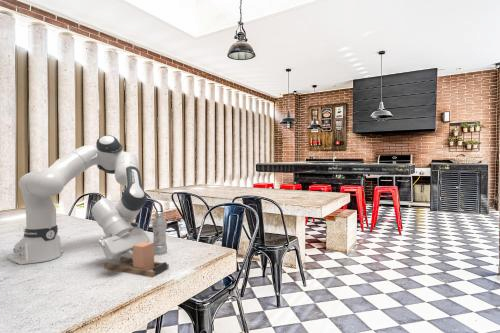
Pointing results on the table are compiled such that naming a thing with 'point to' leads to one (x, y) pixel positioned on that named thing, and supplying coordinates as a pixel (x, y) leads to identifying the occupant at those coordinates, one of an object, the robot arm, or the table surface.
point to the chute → (156, 270)
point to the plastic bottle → (159, 233)
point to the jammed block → (143, 255)
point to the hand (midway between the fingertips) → (138, 259)
